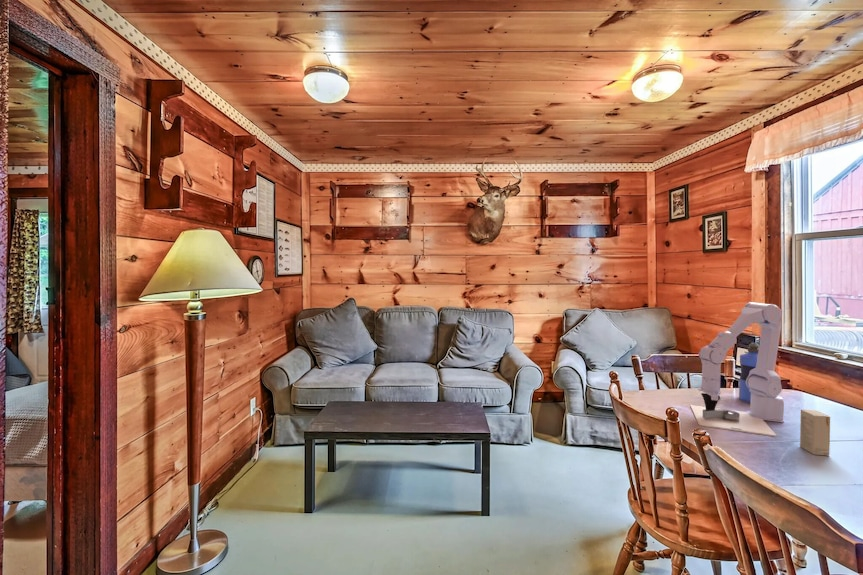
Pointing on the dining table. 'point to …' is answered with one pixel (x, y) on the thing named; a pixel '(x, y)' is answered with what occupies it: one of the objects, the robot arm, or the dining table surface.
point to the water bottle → (747, 370)
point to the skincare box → (815, 432)
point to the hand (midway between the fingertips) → (710, 413)
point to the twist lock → (721, 414)
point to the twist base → (734, 422)
